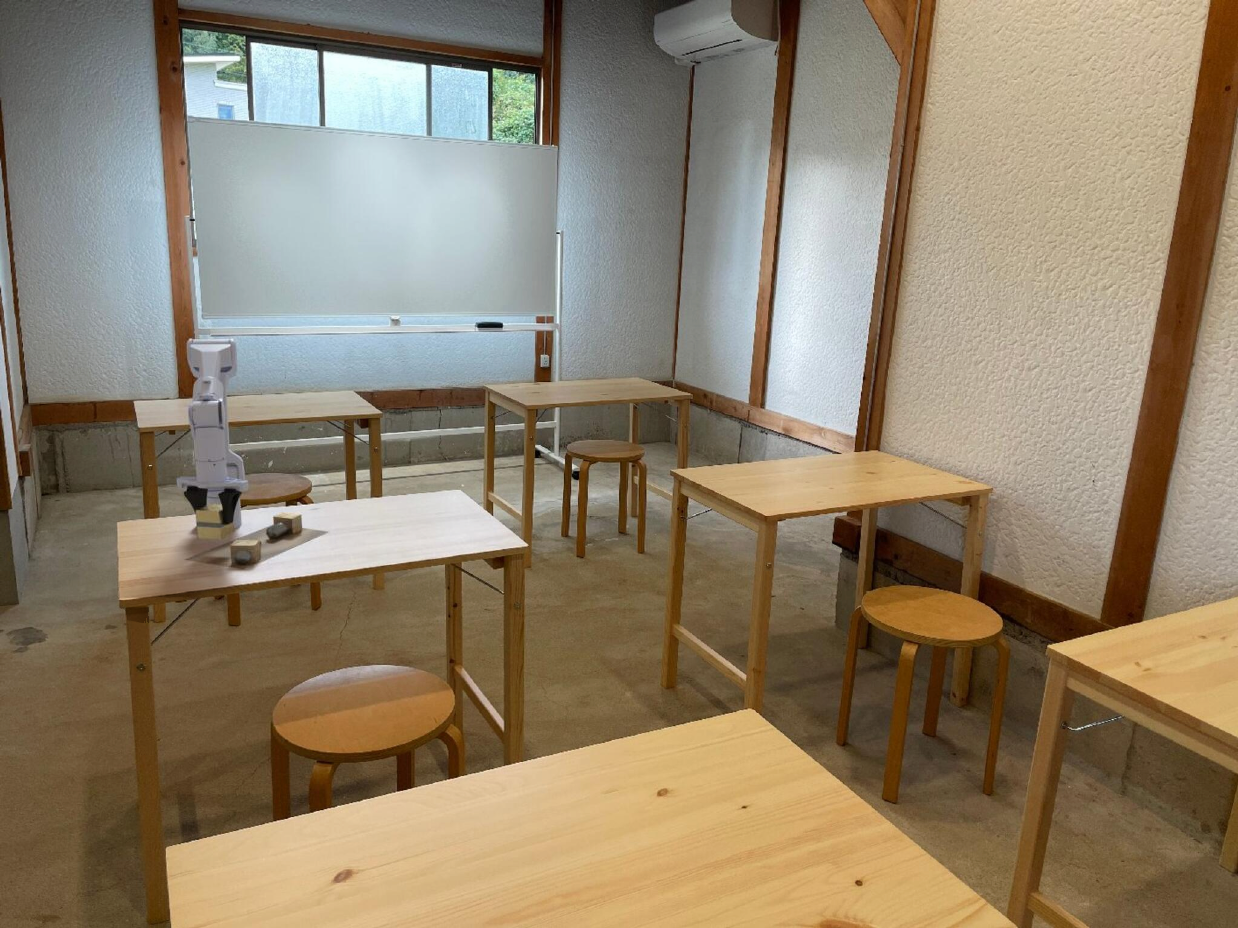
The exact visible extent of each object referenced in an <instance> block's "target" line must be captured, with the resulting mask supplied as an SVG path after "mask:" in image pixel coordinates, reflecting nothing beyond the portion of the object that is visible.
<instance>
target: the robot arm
mask: <svg viewBox="0 0 1238 928" xmlns="http://www.w3.org/2000/svg"><path fill="white" fill-rule="evenodd" d="M237 354H238V353H237V345H236V340H235V339H233V338H219V339H218V338H217V339H216V338H214V339H211V338H210V339H209V338H200V339H199V338H195V339H193V338H188V340H187V342H186V357H187V364H188V366H189V369H190V372H191V373H192V375H193V377H195V378H196V380H195V382H194V384H193V389H192V391H193V392H192V400H191V401H192V402H191V404H190V403H189V404H188V407H187V416H188V417H187V418H188V424H189V427H190V431H191V432H190V434H191V439H193V449H194V450H193V451H194V461H195V473H196V474H195V475H196V476H180V477H177V478H176V488H178V489H183V488H186V490H185V491H183V496H184V497H185V499H186V500H187V501H188V502H189V503H190V505H191V507H192V509H193V511H194V514H195V516H196V510H197V509H199V508H201V507H203V506H205V505H207V504H209V503H211V504H222V509H223V519H224V523H225V525H229V524H230V523H232V522H233V523H234V529H236V528H240V527H241V526H242V525H243V522H242V508H241V506H242V505H241V496H242V494H243V493H244V492H247V491H248V490H249V489H250V488H249V480H246V474H245V467H244V460H243V459H242V457H241V456H240V455H238V454H236V452H233V451H232V450H231V449H230V432H229V431H230V430H229V413H228V397H227V396H228V395H227V394H228V393H227V388H228V383H229V380H230V379H232V378H233V377H235V376H237V372H238V358H237V357H238V356H237ZM233 519H234V521H233ZM196 522H197V519H196V518H195V523H196ZM195 525H196V527H197V523H196V524H195Z"/></svg>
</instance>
